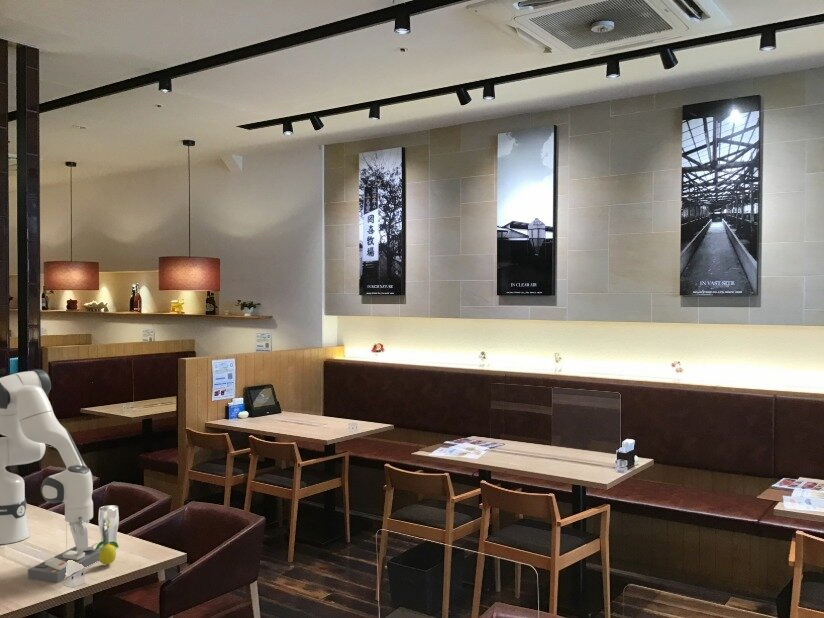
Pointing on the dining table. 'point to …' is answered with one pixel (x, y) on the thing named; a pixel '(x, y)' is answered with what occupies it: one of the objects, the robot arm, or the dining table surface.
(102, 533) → the beer glass
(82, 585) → the dining table surface
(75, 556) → the rocker
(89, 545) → the rocker
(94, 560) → the power strip
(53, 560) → the rocker
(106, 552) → the lemon
